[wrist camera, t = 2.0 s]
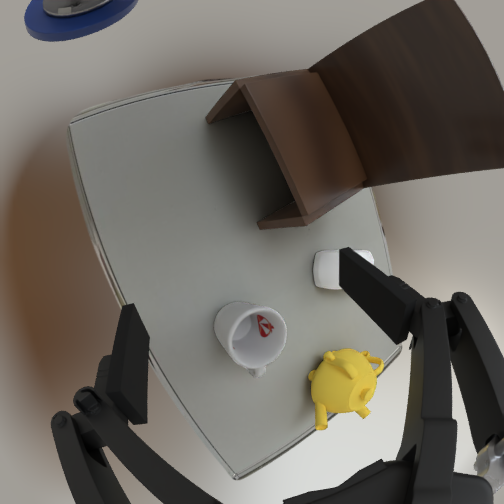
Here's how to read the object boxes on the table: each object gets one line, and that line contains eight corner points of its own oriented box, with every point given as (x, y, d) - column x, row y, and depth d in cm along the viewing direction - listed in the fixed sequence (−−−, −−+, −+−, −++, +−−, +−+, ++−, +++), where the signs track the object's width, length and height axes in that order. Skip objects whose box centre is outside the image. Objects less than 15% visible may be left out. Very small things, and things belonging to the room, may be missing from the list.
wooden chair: (260, 229, 40) (526, 215, 10) (205, 117, 35) (396, -56, 5) (320, 194, 45) (525, 163, 15) (273, 97, 40) (449, -7, 10)
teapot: (288, 410, 44) (327, 440, 34) (308, 343, 45) (355, 364, 35) (340, 402, 50) (378, 423, 40) (359, 344, 51) (402, 359, 41)
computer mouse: (361, 282, 50) (386, 285, 45) (310, 288, 44) (336, 294, 39) (361, 248, 50) (387, 249, 44) (310, 249, 44) (337, 250, 39)
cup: (264, 353, 41) (293, 373, 34) (217, 371, 37) (240, 396, 30) (253, 288, 40) (283, 298, 32) (201, 303, 36) (222, 318, 29)
